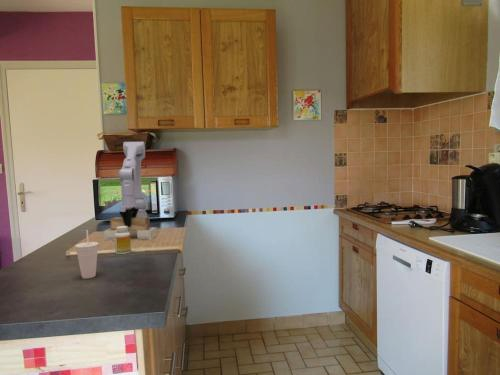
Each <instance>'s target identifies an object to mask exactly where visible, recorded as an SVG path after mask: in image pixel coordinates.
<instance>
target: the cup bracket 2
mask: <svg viewBox="0 0 500 375" xmlns="http://www.w3.org/2000/svg"><path fill="white" fill-rule="evenodd" d="M136 232H137V234H136V235H137V240H138V239H141V240H140V241H152V240H153V239H154V238H156V237H157V227H150V228H149V229H147V230H136ZM152 238H153V239H152ZM142 239H143V240H142Z"/></svg>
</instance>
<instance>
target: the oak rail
mask: <svg viewBox="0 0 500 375" xmlns="http://www.w3.org/2000/svg"><path fill="white" fill-rule="evenodd" d="M109 226H110V228H111V230H116V227H119V226H125V224H124V220H123V218H122V217H112V218H110V219H109ZM110 228H109V229H110ZM149 228H151V227H150V216H147V217H132V219H131V227H128V230H127V231H138V230H147V229H149Z"/></svg>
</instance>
